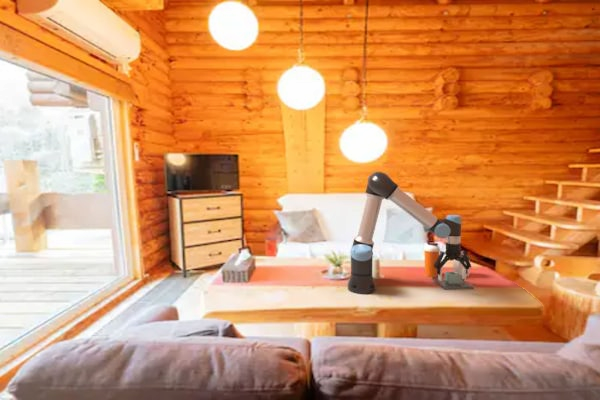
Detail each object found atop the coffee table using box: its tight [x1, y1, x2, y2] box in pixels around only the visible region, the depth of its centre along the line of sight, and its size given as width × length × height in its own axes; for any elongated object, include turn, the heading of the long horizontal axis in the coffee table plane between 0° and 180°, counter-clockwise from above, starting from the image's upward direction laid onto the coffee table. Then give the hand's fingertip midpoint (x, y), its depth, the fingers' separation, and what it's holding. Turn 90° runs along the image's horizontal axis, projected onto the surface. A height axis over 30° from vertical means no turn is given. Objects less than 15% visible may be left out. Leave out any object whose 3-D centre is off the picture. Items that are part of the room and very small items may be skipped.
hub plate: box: [431, 276, 474, 291], centre depth 183 cm, size 16×16×6 cm
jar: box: [452, 254, 471, 278], centre depth 198 cm, size 9×8×12 cm
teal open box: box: [444, 270, 462, 284], centre depth 183 cm, size 6×6×5 cm
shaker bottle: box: [423, 241, 441, 278], centre depth 198 cm, size 9×9×20 cm
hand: (451, 279), depth 183 cm, fingers open, 13 cm apart
